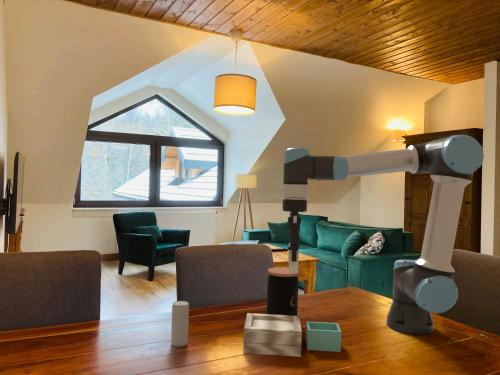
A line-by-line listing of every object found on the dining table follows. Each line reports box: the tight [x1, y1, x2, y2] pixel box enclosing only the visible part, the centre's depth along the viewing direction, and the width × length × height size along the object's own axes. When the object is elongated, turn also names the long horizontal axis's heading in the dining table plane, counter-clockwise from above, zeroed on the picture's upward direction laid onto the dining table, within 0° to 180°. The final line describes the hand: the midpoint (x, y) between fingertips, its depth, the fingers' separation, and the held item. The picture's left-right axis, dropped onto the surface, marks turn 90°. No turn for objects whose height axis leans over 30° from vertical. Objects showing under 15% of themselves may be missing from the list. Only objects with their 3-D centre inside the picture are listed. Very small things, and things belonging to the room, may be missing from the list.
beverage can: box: [170, 300, 190, 348], centre depth 119 cm, size 5×5×12 cm
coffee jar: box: [265, 266, 300, 316], centre depth 140 cm, size 11×11×18 cm
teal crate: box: [305, 321, 342, 353], centre depth 121 cm, size 10×7×6 cm
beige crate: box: [242, 312, 303, 358], centre depth 120 cm, size 16×13×7 cm
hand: (292, 267), depth 126 cm, fingers open, 13 cm apart
